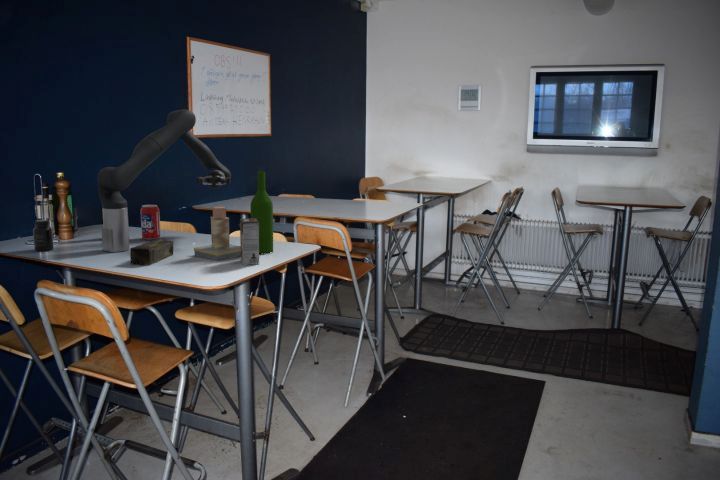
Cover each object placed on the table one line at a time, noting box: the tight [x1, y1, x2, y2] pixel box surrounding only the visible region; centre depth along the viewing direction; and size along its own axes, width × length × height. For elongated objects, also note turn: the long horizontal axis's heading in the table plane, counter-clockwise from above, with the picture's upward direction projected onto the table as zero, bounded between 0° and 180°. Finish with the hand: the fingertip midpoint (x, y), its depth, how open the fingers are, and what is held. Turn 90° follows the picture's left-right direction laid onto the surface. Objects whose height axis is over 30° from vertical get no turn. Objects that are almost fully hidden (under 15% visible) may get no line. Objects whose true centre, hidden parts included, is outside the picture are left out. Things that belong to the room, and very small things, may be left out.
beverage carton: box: [129, 238, 174, 266], centre depth 221 cm, size 8×19×7 cm, turn 170°
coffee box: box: [239, 217, 260, 266], centre depth 218 cm, size 9×6×16 cm
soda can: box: [140, 204, 161, 241], centre depth 260 cm, size 8×8×15 cm
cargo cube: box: [212, 206, 227, 219], centre depth 227 cm, size 4×4×4 cm
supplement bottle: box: [32, 219, 54, 252], centre depth 233 cm, size 7×7×12 cm
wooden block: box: [209, 216, 230, 250], centre depth 229 cm, size 6×6×12 cm
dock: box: [193, 243, 241, 261], centre depth 230 cm, size 14×14×3 cm
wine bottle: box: [250, 171, 274, 254], centre depth 235 cm, size 9×9×32 cm
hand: (211, 181), depth 242 cm, fingers open, 8 cm apart
